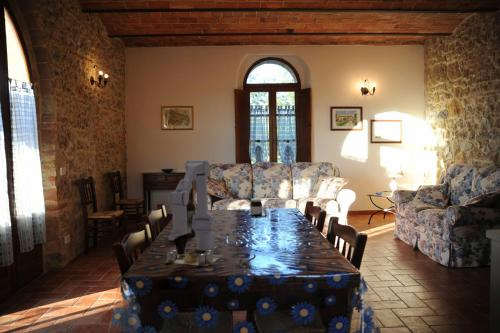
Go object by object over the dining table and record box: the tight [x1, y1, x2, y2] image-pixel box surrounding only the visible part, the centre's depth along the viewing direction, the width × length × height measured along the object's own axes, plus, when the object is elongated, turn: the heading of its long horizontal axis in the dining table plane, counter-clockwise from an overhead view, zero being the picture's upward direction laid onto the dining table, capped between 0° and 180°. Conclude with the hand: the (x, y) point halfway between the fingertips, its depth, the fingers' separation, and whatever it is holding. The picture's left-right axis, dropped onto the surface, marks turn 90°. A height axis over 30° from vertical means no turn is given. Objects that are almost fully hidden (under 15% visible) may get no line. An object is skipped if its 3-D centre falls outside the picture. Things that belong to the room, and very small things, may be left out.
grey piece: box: [166, 248, 214, 266], centre depth 173 cm, size 12×20×4 cm, turn 69°
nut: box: [186, 251, 197, 262], centre depth 173 cm, size 4×5×3 cm
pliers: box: [239, 253, 257, 269], centre depth 175 cm, size 10×1×20 cm
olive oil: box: [186, 198, 196, 238], centre depth 224 cm, size 11×11×25 cm
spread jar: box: [249, 197, 268, 217], centre depth 284 cm, size 12×11×12 cm
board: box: [165, 252, 224, 267], centre depth 176 cm, size 16×20×1 cm
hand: (181, 253), depth 165 cm, fingers closed
